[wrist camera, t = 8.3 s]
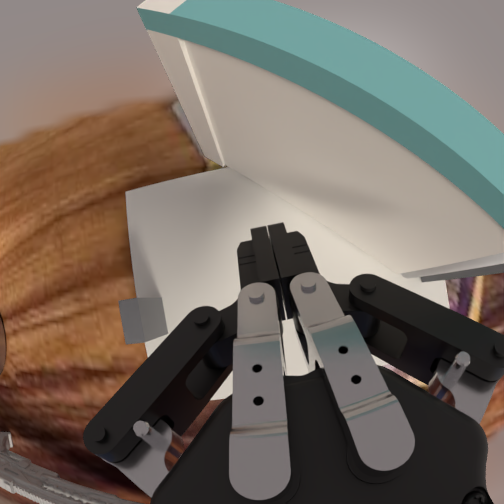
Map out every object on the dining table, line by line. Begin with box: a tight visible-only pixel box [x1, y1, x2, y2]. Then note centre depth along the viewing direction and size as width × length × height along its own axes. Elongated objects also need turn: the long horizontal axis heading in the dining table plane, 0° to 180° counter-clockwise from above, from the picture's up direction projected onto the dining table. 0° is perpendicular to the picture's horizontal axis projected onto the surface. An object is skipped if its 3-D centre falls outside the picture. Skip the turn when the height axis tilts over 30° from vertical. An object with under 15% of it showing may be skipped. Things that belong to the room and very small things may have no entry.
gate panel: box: [136, 0, 504, 278], centre depth 13 cm, size 16×2×13 cm, turn 57°
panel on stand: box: [118, 167, 504, 400], centre depth 13 cm, size 21×15×15 cm
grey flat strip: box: [0, 432, 143, 504], centre depth 17 cm, size 2×30×8 cm, turn 83°
